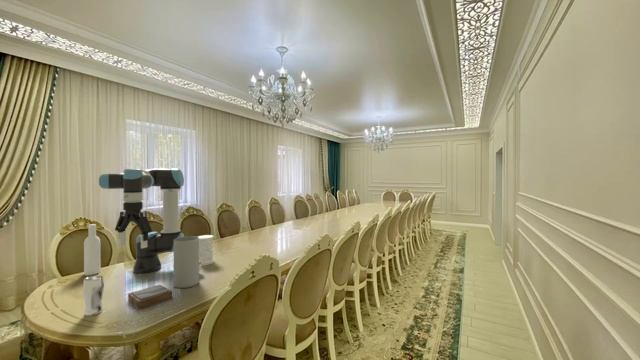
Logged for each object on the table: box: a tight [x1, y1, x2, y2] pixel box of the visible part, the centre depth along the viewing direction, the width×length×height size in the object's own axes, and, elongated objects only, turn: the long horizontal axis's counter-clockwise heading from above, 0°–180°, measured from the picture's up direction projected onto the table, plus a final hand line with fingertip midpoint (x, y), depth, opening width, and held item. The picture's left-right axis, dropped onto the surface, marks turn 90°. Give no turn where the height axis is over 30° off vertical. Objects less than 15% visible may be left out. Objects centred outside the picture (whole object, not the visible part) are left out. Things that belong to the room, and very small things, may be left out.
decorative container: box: [197, 234, 215, 266], centre depth 186 cm, size 12×12×18 cm
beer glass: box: [82, 274, 105, 317], centre depth 117 cm, size 7×7×15 cm
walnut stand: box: [127, 284, 173, 311], centre depth 129 cm, size 14×14×4 cm
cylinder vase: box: [173, 235, 200, 289], centre depth 149 cm, size 12×12×25 cm
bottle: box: [83, 223, 102, 276], centre depth 166 cm, size 8×8×30 cm
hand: (133, 246), depth 127 cm, fingers open, 13 cm apart
